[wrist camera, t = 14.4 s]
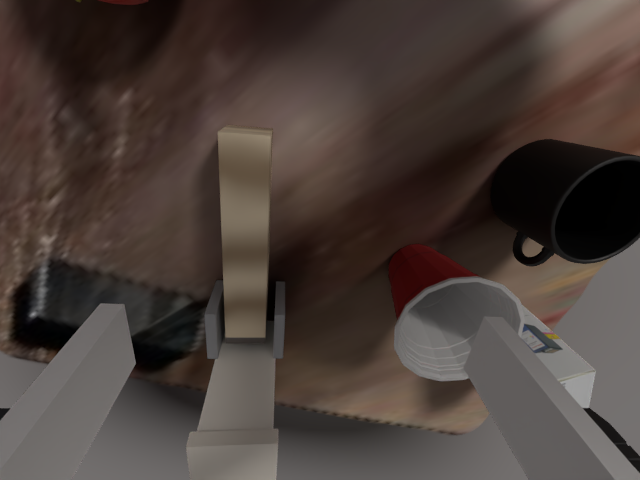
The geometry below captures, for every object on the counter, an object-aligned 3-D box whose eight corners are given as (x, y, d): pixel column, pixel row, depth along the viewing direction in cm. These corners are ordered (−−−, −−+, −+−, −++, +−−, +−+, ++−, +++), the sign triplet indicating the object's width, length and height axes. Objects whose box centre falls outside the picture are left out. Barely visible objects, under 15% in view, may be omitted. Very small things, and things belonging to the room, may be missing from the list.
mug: (459, 230, 36) (510, 271, 28) (523, 123, 32) (605, 136, 24) (525, 254, 39) (589, 299, 30) (593, 158, 34) (689, 180, 26)
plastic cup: (374, 217, 35) (414, 276, 24) (468, 226, 36) (546, 284, 25) (356, 302, 39) (383, 384, 28) (441, 306, 41) (498, 386, 30)
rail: (227, 124, 29) (217, 131, 25) (272, 128, 30) (270, 136, 26) (232, 313, 38) (225, 343, 34) (267, 313, 39) (265, 343, 34)
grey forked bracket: (216, 280, 36) (174, 398, 22) (285, 281, 37) (285, 396, 23) (220, 361, 41) (188, 500, 27) (281, 361, 42) (279, 494, 28)
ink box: (477, 308, 41) (545, 384, 31) (517, 297, 41) (599, 370, 31) (480, 356, 45) (541, 440, 34) (517, 346, 45) (589, 427, 34)
